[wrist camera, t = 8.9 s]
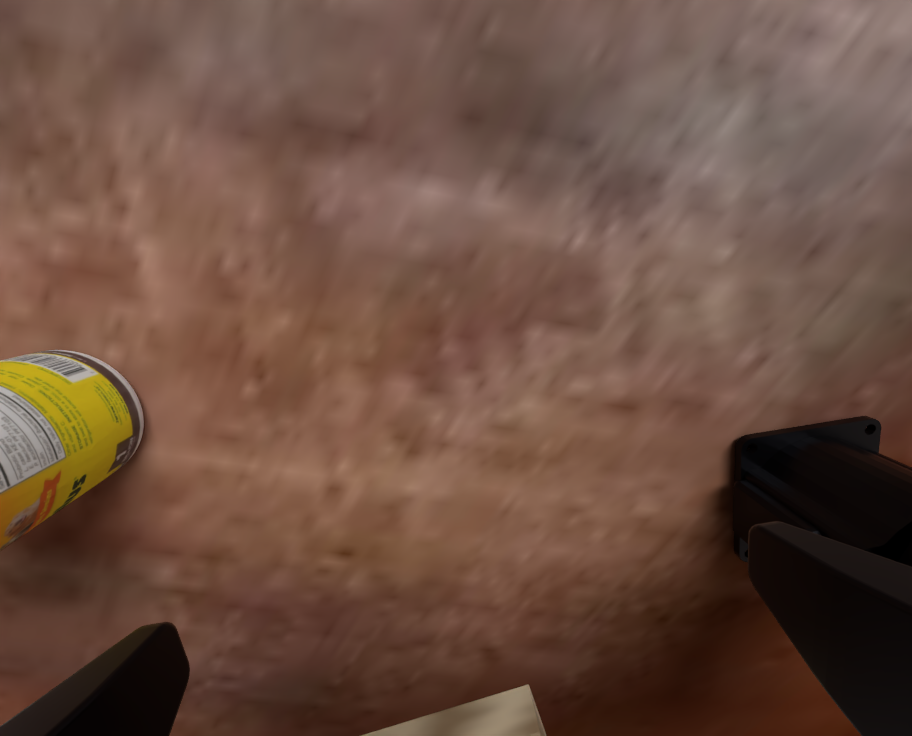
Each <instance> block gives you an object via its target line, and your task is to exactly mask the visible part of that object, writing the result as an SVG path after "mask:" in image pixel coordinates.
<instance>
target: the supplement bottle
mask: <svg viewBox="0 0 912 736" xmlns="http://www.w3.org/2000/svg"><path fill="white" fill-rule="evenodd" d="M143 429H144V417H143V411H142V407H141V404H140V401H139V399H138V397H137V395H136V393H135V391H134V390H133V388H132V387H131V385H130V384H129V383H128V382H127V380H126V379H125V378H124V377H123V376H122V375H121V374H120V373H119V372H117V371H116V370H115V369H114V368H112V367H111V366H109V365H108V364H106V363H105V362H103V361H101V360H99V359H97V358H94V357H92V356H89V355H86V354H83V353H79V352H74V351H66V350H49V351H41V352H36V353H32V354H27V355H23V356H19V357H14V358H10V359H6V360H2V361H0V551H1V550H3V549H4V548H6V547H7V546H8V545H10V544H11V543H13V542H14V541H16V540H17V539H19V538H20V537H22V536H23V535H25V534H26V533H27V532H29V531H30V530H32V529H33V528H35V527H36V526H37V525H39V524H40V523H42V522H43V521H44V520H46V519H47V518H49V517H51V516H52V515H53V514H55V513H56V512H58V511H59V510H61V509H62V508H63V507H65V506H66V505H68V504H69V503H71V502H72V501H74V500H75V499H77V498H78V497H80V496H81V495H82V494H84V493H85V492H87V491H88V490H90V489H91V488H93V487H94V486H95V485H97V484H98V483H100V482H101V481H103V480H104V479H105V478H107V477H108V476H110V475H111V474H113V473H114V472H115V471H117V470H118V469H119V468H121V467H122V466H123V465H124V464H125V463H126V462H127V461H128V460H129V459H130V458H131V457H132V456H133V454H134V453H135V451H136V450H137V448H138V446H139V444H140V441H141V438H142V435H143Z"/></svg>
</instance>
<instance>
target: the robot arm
mask: <svg viewBox="0 0 912 736" xmlns="http://www.w3.org/2000/svg"><path fill="white" fill-rule="evenodd" d="M866 427H867V428H866ZM865 428H866V429H865ZM880 433H881V424H880V422H879V421H878V420H876V419H873V418H870V417H868V416H861V417H854V418H848V419H842V420H836V421H830V422H823V423H817V424H811V425H805V426H798V427H792V428H786V429H780V430H774V431H767V432H761V433H755V434H749V435H744V436H742V437H741V438H739V439H738V441H737V442H736V446H735V484H734V495H733V531H734V552H735V554H736V555H737V556H738V557H739V558H740V559H741V560H742V561H745V562H748V573H749V577H750V580H751V582H752V584H753V586H754V588H755V589H756V591H757V592H758V594H759V595H760V596H761V598H762V599H763V601H764V602H765V604H766V605H767V607H768V608H769V610H770V611H771V612H772V614H773V615H774V617H775V618H776V620H777V621H778V623H779V624H780V626H781V627H782V629H783V630H784V631H785V633H786V634H787V636H788V637H789V639H790V640H791V642H792V643H793V645H794V646H795V648H796V649H797V650H798V652H799V653H800V655H801V656H802V658H803V659H804V661H805V662H806V664H807V665H808V666H809V668H810V669H811V671H812V672H813V674H814V675H815V676H816V678H817V679H818V681H819V682H820V683H821V685H822V686H823V687H824V689H825V690H826V691H827V693H828V694H829V695H830V697H831V698H832V699H833V700H834V702H835V703H836V704H837V706H838V707H839V708H840V709H841V711H842V712H843V713H844V714H845V716H846V717H847V718H848V719H849V720H850V722H851V723H852V724H853V725H854V727H855V728H856V729H857V730H858V732H859V733H860V734H861V735H862V736H912V467H909V466H907V465H905V464H902V463H900V462H898V461H896V460H893V459H891V458H889V457H886V456H884V455H882V454H879V443H880ZM749 444H751V447H750V448H749V449H747V446H748V445H749ZM746 449H747V450H746ZM747 549H748V550H747ZM746 550H747V551H746ZM745 551H746V552H745ZM189 672H190V668H189V662H188V659H187V656H186V653H185V650H184V648H183V645H182V642H181V640H180V637H179V634H178V631H177V629H176V627H175V626H174V625H173V624H172V623H170V622H162V623H156V624H150V625H145V626H142V627H140V628H138V629H136V630H135V631H134V632H132V633H131V634H129V635H128V636H127V637H125V638H124V639H122V640H121V641H120V642H118V643H117V644H115V645H114V646H113V647H111V648H110V649H108V650H107V651H106V652H104V653H103V654H101V655H100V656H98V657H97V658H96V659H94V660H93V661H91V662H90V663H89V664H87V665H86V666H84V667H83V668H82V669H80V670H79V671H77V672H76V673H75V674H73V675H72V676H70V677H69V678H68V679H66V680H65V681H63V682H62V683H61V684H59V685H58V686H56V687H55V688H54V689H52V690H51V691H49V692H48V693H47V694H45V695H44V696H42V697H41V698H40V699H38V700H37V701H35V702H34V703H33V704H31V705H30V706H28V707H27V708H25V709H24V710H23V711H21V712H20V713H18V714H17V715H16V716H14V717H13V718H11V719H10V720H9V721H7V722H6V723H4V724H3V725H2V726H0V736H169V735H170V732H171V729H172V726H173V724H174V721H175V718H176V715H177V712H178V709H179V706H180V703H181V701H182V698H183V695H184V692H185V689H186V686H187V683H188V679H189Z"/></svg>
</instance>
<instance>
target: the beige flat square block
mask: <svg viewBox="0 0 912 736" xmlns="http://www.w3.org/2000/svg"><path fill="white" fill-rule="evenodd" d="M361 736H546V733H545V730H544V727H543V724H542V721H541V718H540V715H539V713H538V710H537V707H536V704H535V701H534V698H533V695H532V693H531V690H530V687H529V684H528V685H525V686H521V687H518V688H515V689H511V690H508V691H505V692H502V693H498V694H495V695H492V696H489V697H485V698H482V699H479V700H476V701H472V702H469V703H466V704H462V705H459V706H456V707H453V708H449V709H446V710H443V711H440V712H436V713H433V714H430V715H427V716H423V717H420V718H417V719H413V720H410V721H407V722H404V723H400V724H397V725H394V726H391V727H387V728H384V729H381V730H378V731H374V732H371V733H368V734H364V735H361Z"/></svg>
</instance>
